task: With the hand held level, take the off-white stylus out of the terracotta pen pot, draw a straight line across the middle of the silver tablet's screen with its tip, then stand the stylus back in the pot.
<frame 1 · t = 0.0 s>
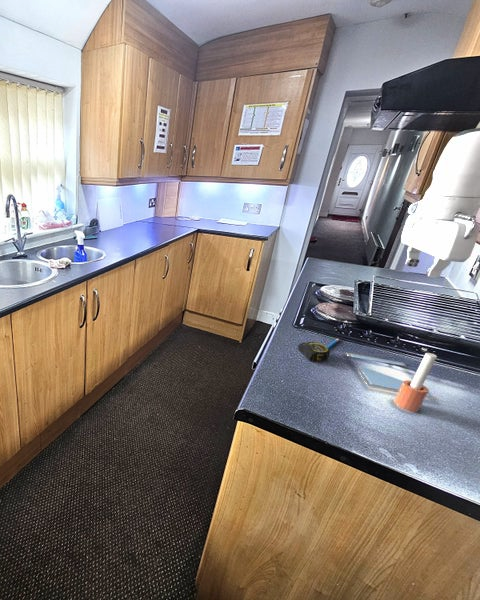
hand: (420, 271, 76), 31 cm above the worktop, tool pointing down, fingers open, 8 cm apart
pen pot: (405, 406, 78), on the worktop
tape measure: (311, 358, 98), on the worktop, touching pencil
pencil: (326, 349, 103), on the worktop, touching tape measure
stylus: (406, 404, 78), resting on pen pot
tablet: (385, 375, 90), on the worktop
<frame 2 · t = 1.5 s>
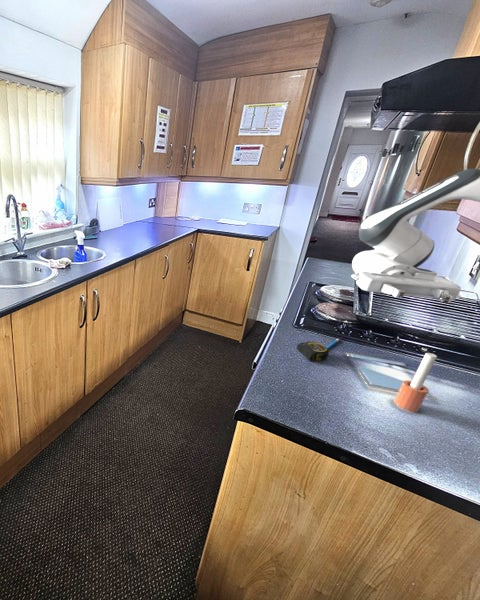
hand: (424, 297, 79), 24 cm above the worktop, tool horizontal, fingers open, 8 cm apart
nothing on the worktop moved.
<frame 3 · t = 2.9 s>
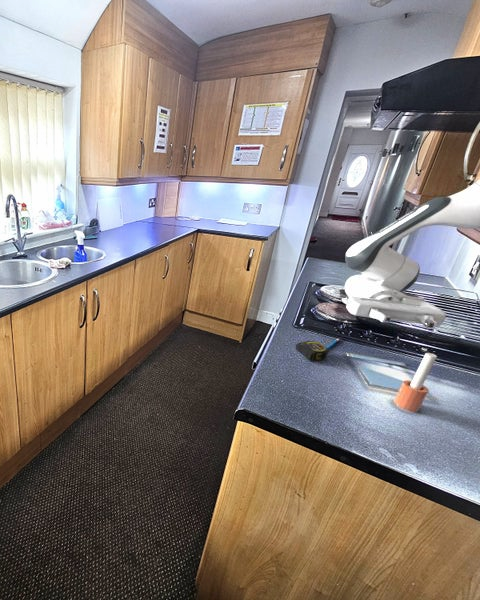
hand: (409, 322, 82), 17 cm above the worktop, tool horizontal, fingers open, 8 cm apart
tape measure: (309, 357, 98), on the worktop
pencil: (326, 348, 103), on the worktop
everything else where it was.
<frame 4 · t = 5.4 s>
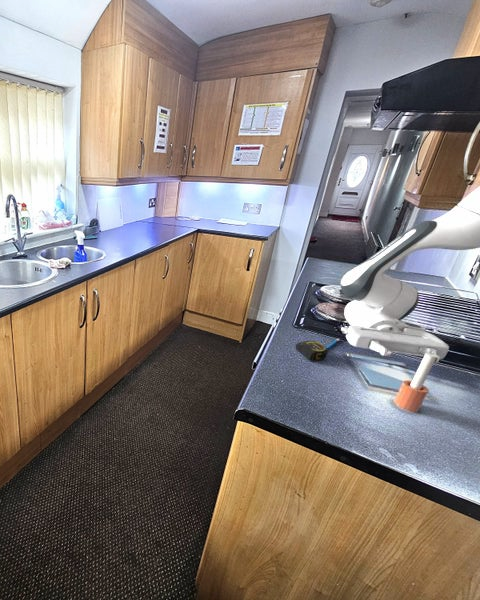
hand: (411, 356, 80), 10 cm above the worktop, tool horizontal, fingers open, 8 cm apart
tape measure: (309, 357, 98), on the worktop, touching pencil
pencil: (326, 348, 103), on the worktop, touching tape measure
everything else where it was.
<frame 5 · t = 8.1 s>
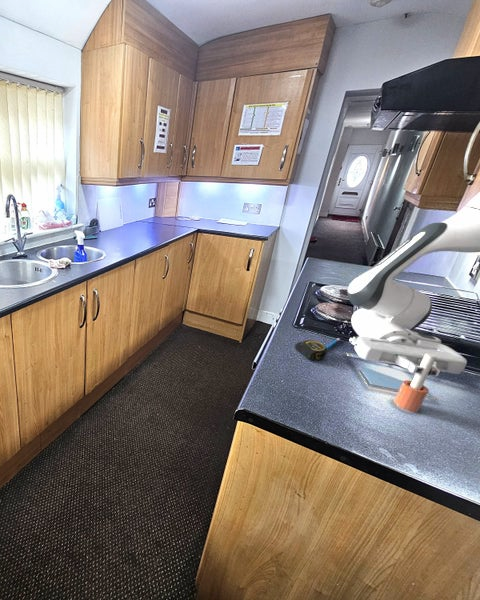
hand: (426, 372, 74), 11 cm above the worktop, tool horizontal, fingers closed on stylus, 2 cm apart
tape measure: (309, 357, 98), on the worktop, touching pencil
stylus: (406, 404, 78), point 1 cm above the worktop, touching gripper, pen pot
everything else where it was.
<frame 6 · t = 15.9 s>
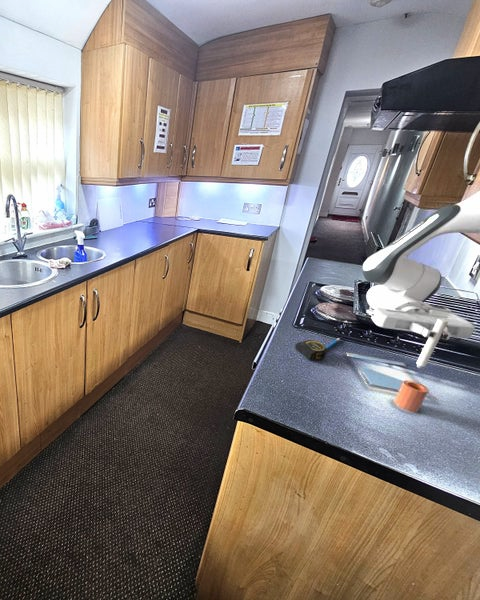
hand: (438, 335, 82), 14 cm above the worktop, tool horizontal, fingers closed on stylus
stylus: (419, 367, 86), point 4 cm above the worktop, touching gripper
everything else where it was.
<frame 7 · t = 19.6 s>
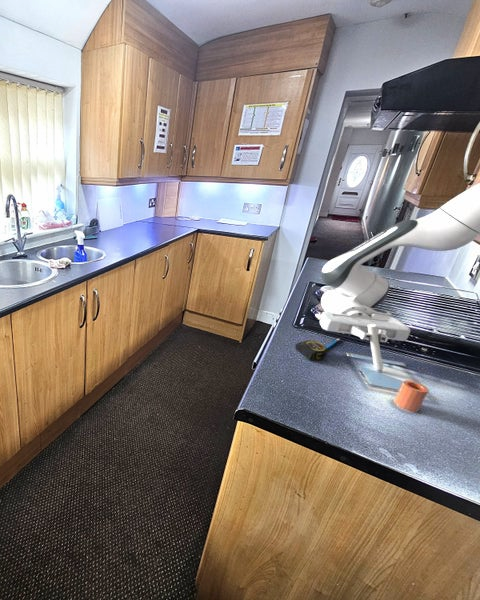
hand: (375, 338, 87), 11 cm above the worktop, tool horizontal, fingers closed on stylus, 2 cm apart
stylus: (379, 370, 90), point 1 cm above the worktop, tilted 23°, touching gripper, tablet
everything else where it was.
when the fingers open (11 cm above the worktop, at t = 29.4 s): stylus stays where it is, resting on pen pot.
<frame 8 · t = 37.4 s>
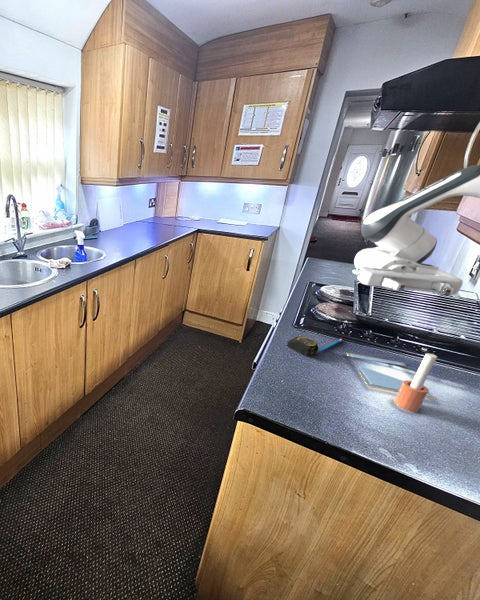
hand: (424, 289, 79), 26 cm above the worktop, tool horizontal, fingers open, 8 cm apart
tape measure: (301, 353, 100), on the worktop
pencil: (327, 348, 103), on the worktop
stylus: (406, 405, 78), resting on pen pot
at the end: stylus 0.2 cm off-centre in the pen pot, point 0.5 cm above the pen pot's base; stylus tilted 0°; the gripper is holding nothing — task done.
